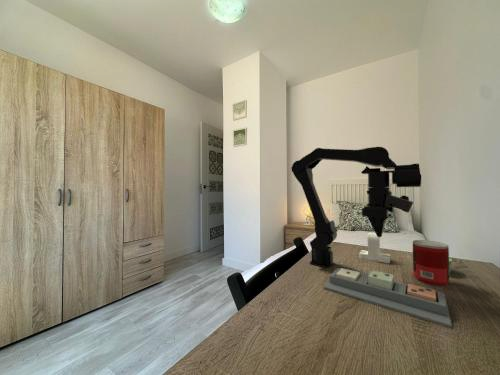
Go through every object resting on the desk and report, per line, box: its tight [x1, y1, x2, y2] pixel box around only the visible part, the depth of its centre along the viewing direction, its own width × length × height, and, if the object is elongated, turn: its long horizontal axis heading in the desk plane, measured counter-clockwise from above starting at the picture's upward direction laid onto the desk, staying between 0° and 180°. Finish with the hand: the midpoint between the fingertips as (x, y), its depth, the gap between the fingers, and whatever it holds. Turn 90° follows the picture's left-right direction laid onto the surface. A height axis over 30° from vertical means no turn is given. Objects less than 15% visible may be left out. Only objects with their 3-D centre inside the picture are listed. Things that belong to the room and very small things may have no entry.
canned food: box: [412, 239, 450, 287], centre depth 60 cm, size 8×8×11 cm
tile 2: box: [368, 270, 395, 291], centre depth 53 cm, size 5×5×2 cm
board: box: [323, 267, 453, 329], centre depth 53 cm, size 25×14×2 cm, turn 49°
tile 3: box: [407, 283, 436, 302], centre depth 48 cm, size 5×5×2 cm
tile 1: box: [336, 267, 361, 282], centre depth 58 cm, size 5×5×2 cm
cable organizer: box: [358, 232, 391, 264], centre depth 79 cm, size 5×10×10 cm, turn 52°
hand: (379, 236), depth 64 cm, fingers closed
